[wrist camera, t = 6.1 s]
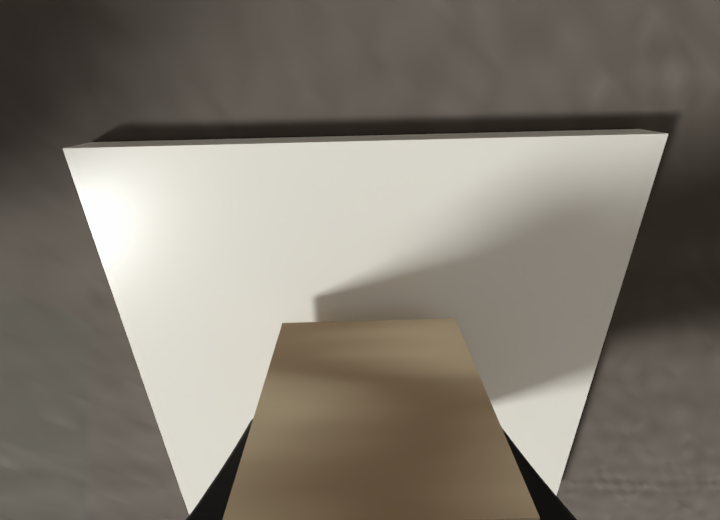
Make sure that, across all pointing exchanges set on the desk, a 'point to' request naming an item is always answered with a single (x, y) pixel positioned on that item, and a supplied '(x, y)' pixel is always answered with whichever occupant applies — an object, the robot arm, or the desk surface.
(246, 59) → the desk surface
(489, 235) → the board
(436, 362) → the oak block
